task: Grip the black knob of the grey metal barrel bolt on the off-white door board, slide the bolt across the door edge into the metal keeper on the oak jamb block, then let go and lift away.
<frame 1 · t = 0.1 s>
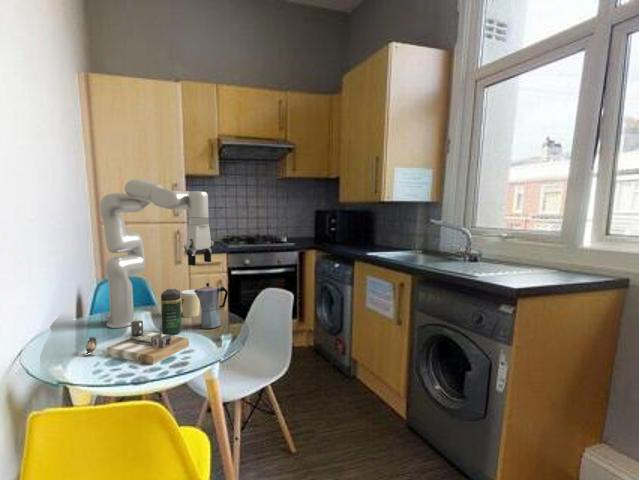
hand: (200, 263, 150), 31 cm above the table, tool pointing down, fingers open, 9 cm apart
vase: (91, 354, 135), on the table
coffee cup: (191, 315, 183), on the table
coffee jar: (172, 332, 159), on the table
bolt: (144, 331, 139), point 7 cm above the table, slide at 0.0 cm
lock board: (152, 350, 138), on the table
moka pot: (211, 326, 167), on the table
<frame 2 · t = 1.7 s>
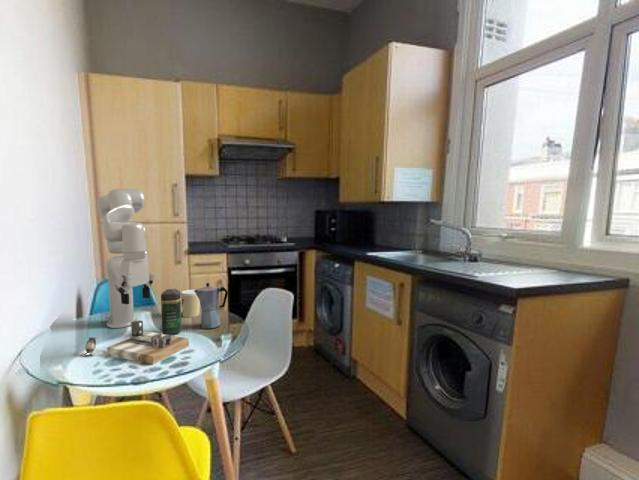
hand: (136, 300, 138), 19 cm above the table, tool pointing down, fingers open, 9 cm apart
nothing on the table moved.
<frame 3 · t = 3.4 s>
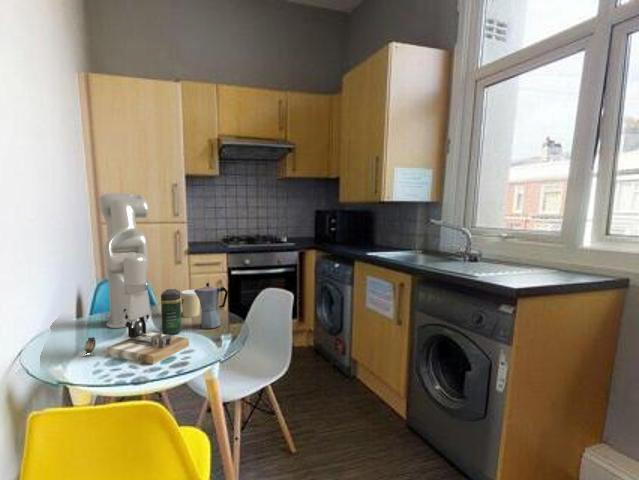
hand: (137, 334, 140), 5 cm above the table, tool pointing down, fingers closed on bolt, 4 cm apart
bolt: (144, 331, 139), point 7 cm above the table, slide at 0.0 cm, touching gripper
everything else where it was.
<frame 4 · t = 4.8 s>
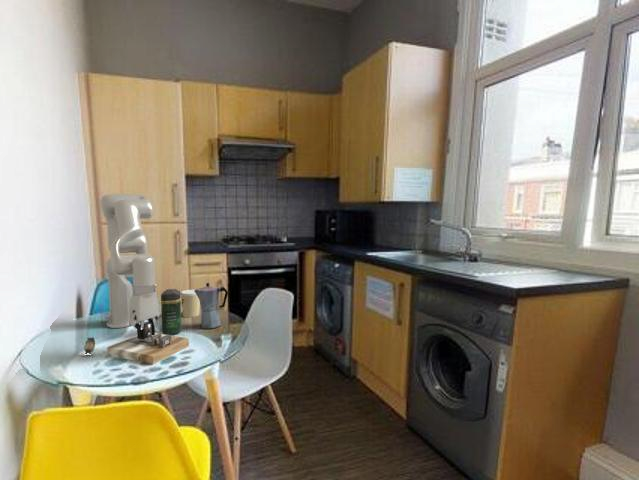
hand: (146, 336, 138), 5 cm above the table, tool pointing down, fingers closed on bolt, 4 cm apart
bolt: (153, 333, 137), point 7 cm above the table, slide at 4.4 cm, touching gripper
everything else where it was.
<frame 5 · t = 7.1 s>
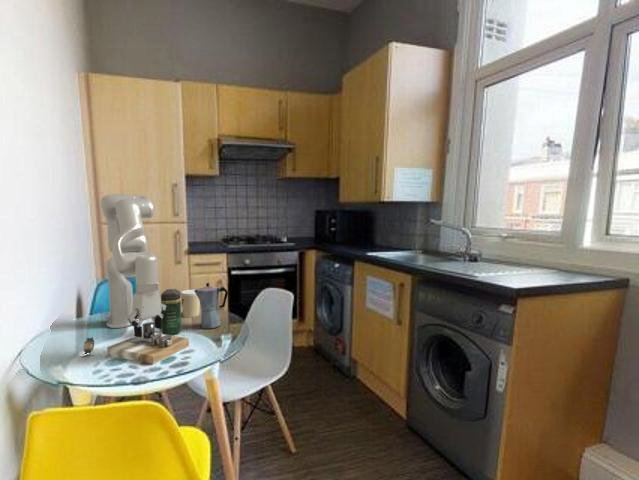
hand: (148, 332, 138), 7 cm above the table, tool pointing down, fingers open, 9 cm apart
bolt: (156, 333, 137), point 7 cm above the table, slide at 5.8 cm
everything else where it was.
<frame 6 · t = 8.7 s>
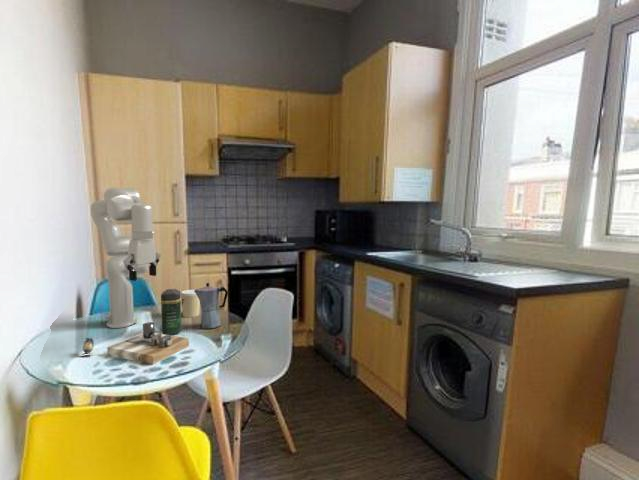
hand: (143, 277, 146), 26 cm above the table, tool pointing down, fingers open, 9 cm apart
nothing on the table moved.
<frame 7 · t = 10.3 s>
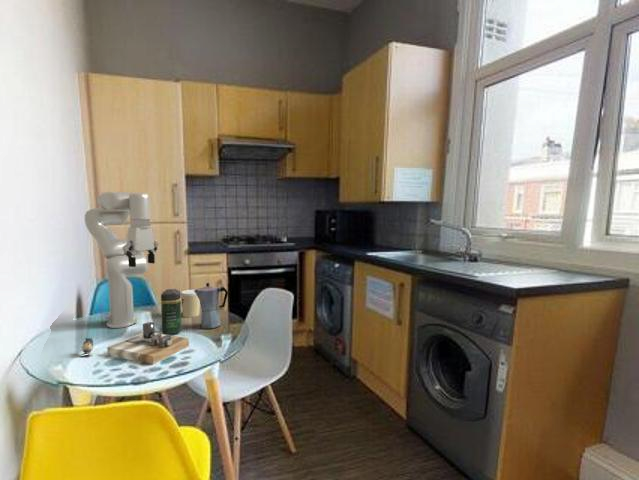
hand: (142, 264, 151), 30 cm above the table, tool pointing down, fingers open, 9 cm apart
at the end: bolt slide at 5.8 cm; the gripper is holding nothing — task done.
